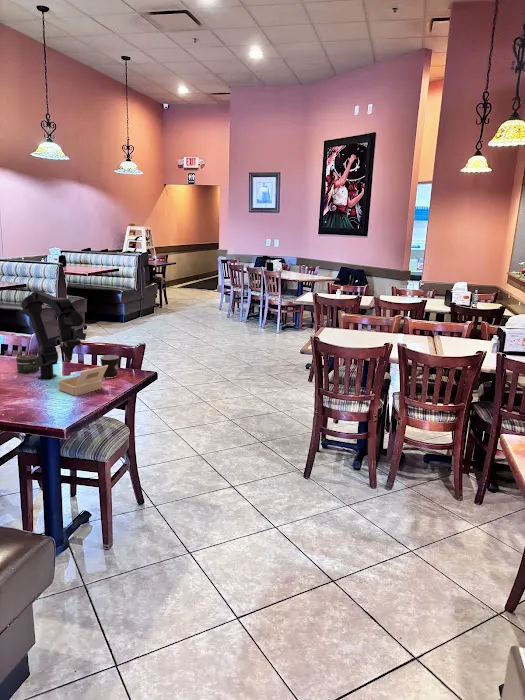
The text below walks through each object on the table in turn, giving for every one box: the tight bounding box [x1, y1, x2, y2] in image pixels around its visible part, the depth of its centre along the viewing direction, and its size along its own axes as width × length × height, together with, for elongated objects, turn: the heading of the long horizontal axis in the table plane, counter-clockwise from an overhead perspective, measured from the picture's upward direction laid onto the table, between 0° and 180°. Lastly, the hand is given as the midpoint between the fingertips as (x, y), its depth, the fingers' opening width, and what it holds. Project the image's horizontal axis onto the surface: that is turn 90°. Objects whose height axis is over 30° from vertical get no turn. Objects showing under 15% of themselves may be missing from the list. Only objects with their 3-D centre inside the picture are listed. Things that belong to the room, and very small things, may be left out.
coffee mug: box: [100, 354, 120, 378], centre depth 246 cm, size 12×9×10 cm
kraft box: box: [58, 375, 104, 397], centre depth 226 cm, size 12×15×4 cm
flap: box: [76, 365, 108, 386], centre depth 219 cm, size 1×13×9 cm
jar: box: [15, 354, 40, 375], centre depth 248 cm, size 10×10×8 cm
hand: (70, 360), depth 227 cm, fingers closed
